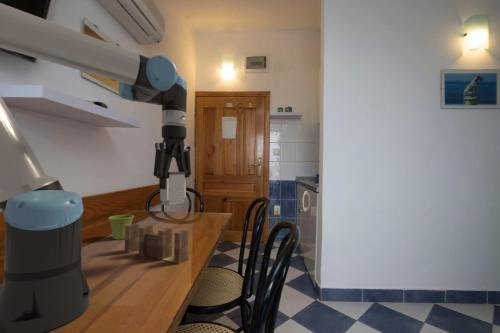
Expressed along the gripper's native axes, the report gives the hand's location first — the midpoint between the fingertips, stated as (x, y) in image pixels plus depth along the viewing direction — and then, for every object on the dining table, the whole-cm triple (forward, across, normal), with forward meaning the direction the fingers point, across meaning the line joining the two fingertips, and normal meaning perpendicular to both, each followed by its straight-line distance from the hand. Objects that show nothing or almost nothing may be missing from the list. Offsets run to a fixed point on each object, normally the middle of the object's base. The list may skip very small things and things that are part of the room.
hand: (173, 198), depth 79 cm
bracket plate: (+2, 0, 0) cm, 2 cm away
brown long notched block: (+19, 0, +7) cm, 20 cm away
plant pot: (+19, +10, +36) cm, 42 cm away
